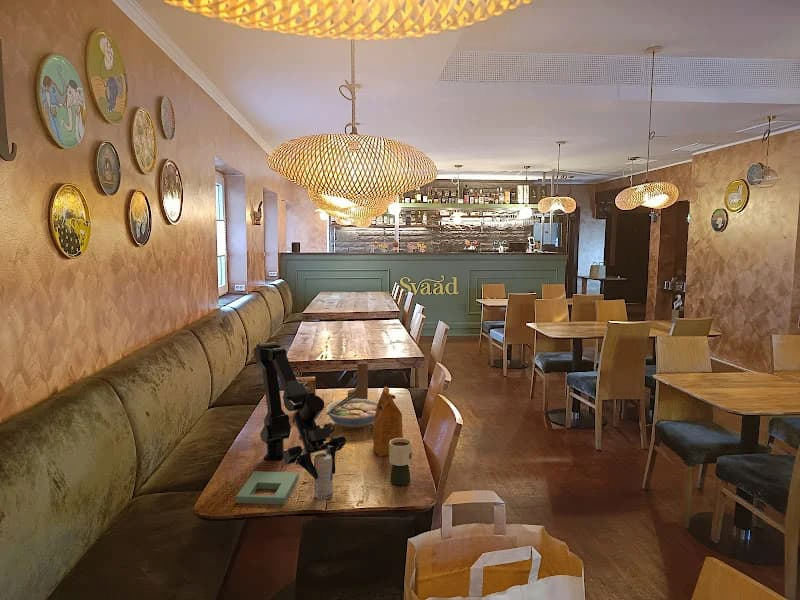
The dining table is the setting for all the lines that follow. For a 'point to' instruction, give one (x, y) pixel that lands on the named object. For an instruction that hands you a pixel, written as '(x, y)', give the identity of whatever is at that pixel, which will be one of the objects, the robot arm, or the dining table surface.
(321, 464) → the energy drink
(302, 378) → the candy box
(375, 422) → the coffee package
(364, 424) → the ramen bowl
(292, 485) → the socket board
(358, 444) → the dining table surface
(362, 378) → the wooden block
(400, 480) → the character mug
